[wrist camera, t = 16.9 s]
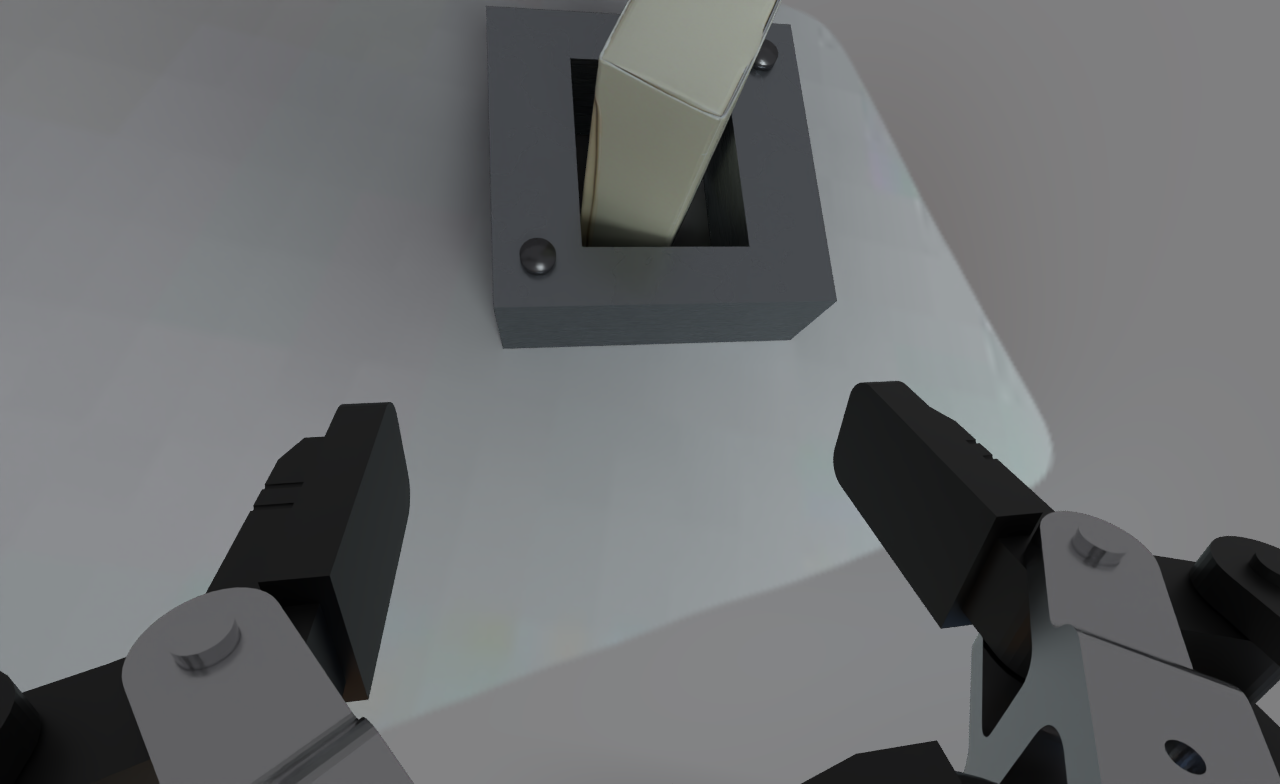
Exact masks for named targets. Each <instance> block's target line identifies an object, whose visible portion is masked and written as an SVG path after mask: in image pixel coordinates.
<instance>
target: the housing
mask: <svg viewBox="0 0 1280 784" xmlns="http://www.w3.org/2000/svg"><path fill="white" fill-rule="evenodd" d="M620 15H621V14H608V13H592V12H575V11H559V10H543V9H526V8H510V7H493V6H486V16H487V58H488V99H489V141H490V183H491V224H492V266H493V307H494V312H495V316H496V320H497V324H498V328H499V333H500V337H501V341H502V345H503V349H504V348H537V347H570V346H603V345H637V344H670V343H703V342H736V341H770V340H791V339H792V338H793V337H794V336H796V335H797V334H798V333H799V332H800V331H802V330H803V329H804V328H805V327H806V326H808V325H809V324H810V323H811V322H812V321H813V320H815V319H816V318H817V317H818V316H819V315H821V314H822V313H823V312H824V311H825V310H827V309H828V308H829V307H830V306H831V305H833V304H834V303H835V302H836V301H837V298H836V292H835V286H834V280H833V275H832V269H831V263H830V257H829V251H828V245H827V239H826V233H825V227H824V221H823V215H822V209H821V203H820V197H819V191H818V185H817V179H816V173H815V168H814V162H813V156H812V150H811V144H810V138H809V132H808V126H807V120H806V114H805V108H804V102H803V96H802V90H801V84H800V78H799V72H798V67H797V61H796V55H795V49H794V43H793V37H792V31H791V25H789V24H773V23H771V26H770V28H769V30H768V32H767V35H766V37H765V39H764V41H763V44H762V46H761V48H760V50H759V53H758V55H757V57H756V59H755V62H754V64H753V66H752V69H751V71H750V73H749V75H748V78H747V80H746V82H745V84H744V86H743V89H742V91H741V93H740V95H739V98H738V100H737V102H736V104H735V106H734V109H733V111H732V113H731V115H730V118H729V120H728V122H727V124H726V127H725V129H724V131H723V133H722V136H721V138H720V140H719V142H718V144H717V147H716V149H715V151H714V153H713V155H712V157H711V159H710V162H709V164H708V166H707V169H706V171H705V173H704V175H703V179H704V187H705V196H706V204H707V213H708V221H709V230H710V238H711V247H582V239H581V223H580V207H579V191H578V176H577V160H576V144H575V134H584V135H590V130H591V121H592V113H593V105H594V97H595V86H596V79H597V71H598V62H599V56H600V54H601V52H602V50H603V48H604V46H605V44H606V41H607V39H608V38H609V36H610V34H611V32H612V30H613V29H614V27H615V25H616V23H617V21H618V19H619V17H620Z"/></svg>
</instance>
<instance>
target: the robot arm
mask: <svg viewBox="0 0 1280 784" xmlns="http://www.w3.org/2000/svg"><path fill="white" fill-rule="evenodd" d="M833 463H834V470H835V474H836V477H837V480H838V482H839V484H840V485H841V487H842V488H843V490H844V491H845V492H846V494H847V495H848V497H849V498H850V500H851V501H852V502H853V504H854V505H855V507H856V508H857V510H858V511H859V512H860V514H861V515H862V517H863V518H864V520H865V521H866V522H867V524H868V525H869V527H870V528H871V530H872V531H873V532H874V534H875V535H876V537H877V538H878V540H879V541H880V542H881V544H882V545H883V547H884V548H885V550H886V551H887V552H888V554H889V555H890V557H891V558H892V560H893V561H894V562H895V564H896V565H897V566H898V568H899V570H900V571H901V572H902V574H903V575H904V577H905V578H906V580H907V581H908V582H909V584H910V585H911V587H912V588H913V590H914V591H915V592H916V594H917V595H918V597H919V598H920V600H921V601H922V602H923V604H924V605H925V607H926V608H927V610H928V611H929V612H930V614H931V615H932V617H933V618H934V620H935V621H936V622H937V624H938V625H939V627H940V628H941V629H942V628H950V627H957V626H965V625H974V627H975V628H976V629H977V631H978V632H979V634H978V636H977V638H976V639H975V641H974V643H973V646H972V654H971V688H970V689H971V690H970V721H969V723H970V724H969V749H968V757H967V761H966V766H965V769H964V772H963V773H962V772H957V771H954V769H953V767H952V765H951V764H950V762H949V761H948V759H947V757H946V755H945V754H944V752H943V750H942V748H941V747H940V745H939V743H938V742H937V741H931V742H925V743H919V744H913V745H907V746H901V747H895V748H889V749H883V750H877V751H871V752H865V753H859V754H855V755H853V756H851V757H850V758H848V759H846V760H844V761H842V762H840V763H839V764H837V765H835V766H833V767H831V768H830V769H827V770H826V771H824V772H822V773H820V774H818V775H816V776H815V777H813V778H811V779H809V780H807V781H805V782H804V783H802V784H1280V727H1279V726H1278V725H1277V724H1276V723H1275V722H1274V721H1273V720H1272V719H1271V718H1270V717H1269V716H1268V715H1267V714H1266V713H1265V712H1264V711H1263V710H1262V709H1260V708H1259V707H1258V706H1257V705H1256V704H1255V703H1256V702H1257V701H1258V700H1259V699H1261V698H1262V697H1263V695H1265V694H1266V693H1267V692H1268V691H1269V689H1271V688H1272V687H1273V686H1274V685H1275V684H1276V683H1277V682H1278V681H1279V680H1280V549H1279V548H1276V547H1274V546H1271V545H1269V544H1266V543H1263V542H1260V541H1256V540H1253V539H1248V538H1243V537H1236V536H1224V537H1219V538H1216V539H1215V540H1213V541H1212V542H1211V544H1210V545H1209V546H1208V547H1207V549H1206V550H1205V551H1204V553H1203V554H1202V555H1201V556H1200V558H1199V559H1198V560H1197V562H1192V561H1186V560H1180V559H1173V558H1166V557H1160V556H1154V555H1152V553H1151V552H1150V551H1149V550H1148V549H1147V548H1146V547H1145V546H1144V545H1143V544H1142V543H1141V542H1139V541H1138V540H1137V539H1136V538H1134V537H1133V536H1132V535H1130V534H1129V533H1127V532H1125V531H1124V530H1122V529H1120V528H1119V527H1117V526H1115V525H1113V524H1111V523H1108V522H1106V521H1104V520H1102V519H1099V518H1096V517H1093V516H1090V515H1086V514H1083V513H1077V512H1070V511H1058V512H1055V511H1054V510H1052V509H1051V508H1050V507H1049V506H1048V505H1047V504H1046V503H1045V502H1044V501H1043V500H1042V499H1040V498H1039V497H1038V496H1037V495H1036V494H1035V493H1034V492H1033V491H1032V490H1031V489H1030V488H1028V487H1027V486H1026V485H1025V484H1024V483H1023V482H1022V481H1021V480H1020V479H1019V478H1017V477H1016V476H1015V475H1014V474H1013V473H1012V472H1011V471H1010V470H1009V469H1008V468H1006V467H1005V466H1004V465H1003V464H1002V463H1001V462H1000V461H999V460H998V459H993V458H992V454H991V453H990V452H989V451H988V450H987V449H986V448H984V447H983V446H982V445H981V444H980V443H978V444H976V439H975V438H973V437H972V436H971V435H970V434H969V433H968V432H967V431H966V430H965V429H964V428H962V427H961V426H960V425H959V424H958V423H957V422H956V421H954V420H952V419H951V418H949V417H947V416H945V415H943V414H942V413H940V412H938V411H936V410H934V409H933V408H931V407H929V406H928V405H927V404H926V403H925V402H924V401H923V400H922V399H921V398H920V397H919V396H917V395H916V394H915V393H914V392H913V391H912V390H911V389H910V388H909V387H908V386H907V385H906V384H904V383H903V382H900V381H887V382H864V383H859V384H857V385H856V386H855V387H854V388H853V389H852V391H851V394H850V397H849V400H848V404H847V407H846V411H845V414H844V418H843V421H842V425H841V428H840V432H839V435H838V439H837V442H836V446H835V450H834V456H833ZM253 506H254V510H253V511H250V513H249V515H248V516H247V518H246V520H245V522H244V524H243V526H242V528H241V529H240V531H239V533H238V535H237V537H236V539H235V540H234V542H233V544H232V546H231V548H230V550H229V551H228V553H227V555H226V557H225V559H224V561H223V563H222V564H221V566H220V568H219V570H218V572H217V574H216V575H215V577H214V579H213V581H212V583H211V585H210V586H209V588H208V590H207V592H206V594H204V595H201V596H198V597H196V598H194V599H191V600H189V601H187V602H185V603H183V604H181V605H179V606H177V607H176V608H174V609H172V610H171V611H169V612H168V613H166V614H165V615H163V616H162V617H160V618H159V619H158V620H157V621H156V622H154V623H153V624H152V625H151V626H150V627H149V628H148V629H147V630H146V631H145V632H144V633H143V634H142V635H141V636H140V637H139V638H138V640H137V641H136V642H135V643H134V645H133V646H132V648H131V649H130V651H129V653H128V655H127V656H126V657H125V658H122V659H120V660H117V661H114V662H112V663H109V664H106V665H103V666H100V667H97V668H94V669H91V670H88V671H85V672H82V673H79V674H77V675H74V676H71V677H68V678H65V679H62V680H59V681H56V682H53V683H50V684H47V685H44V686H41V687H38V688H35V689H32V690H29V691H26V692H23V693H22V692H21V691H20V690H19V689H18V687H17V686H16V685H15V684H14V683H13V681H12V680H11V679H10V678H9V677H8V676H7V675H6V674H4V673H2V672H1V671H0V784H414V783H413V781H412V780H411V779H410V777H409V776H408V774H407V773H406V772H405V770H404V769H403V767H402V765H401V764H400V763H399V761H398V760H397V758H396V757H395V755H394V754H393V752H391V750H390V748H389V747H388V746H387V744H386V742H385V741H384V740H383V738H382V737H381V735H380V734H379V732H378V731H377V730H376V729H375V727H374V726H373V725H372V724H371V723H370V722H369V721H368V720H367V719H366V718H364V717H362V718H361V719H359V720H358V719H357V718H356V716H355V715H354V714H353V713H352V711H351V710H350V708H349V707H348V705H347V704H346V702H352V701H360V700H368V699H369V694H370V690H371V685H372V681H373V676H374V671H375V667H376V662H377V658H378V653H379V649H380V644H381V639H382V635H383V630H384V626H385V621H386V616H387V612H388V607H389V603H390V598H391V593H392V589H393V584H394V580H395V575H396V570H397V566H398V561H399V557H400V552H401V547H402V543H403V538H404V534H405V529H406V525H407V520H408V515H409V507H410V485H409V477H408V471H407V466H406V461H405V455H404V450H403V445H402V439H401V434H400V429H399V423H398V418H397V413H396V410H395V407H394V405H393V403H391V402H383V403H360V404H342V405H340V406H339V407H338V409H337V411H336V413H335V415H334V418H333V420H332V422H331V424H330V426H329V428H328V431H327V433H326V435H325V437H310V438H304V439H303V440H301V441H300V442H299V443H298V444H296V445H295V446H294V447H293V448H292V449H290V450H289V451H288V452H287V453H286V454H284V455H283V456H282V457H281V458H280V459H278V461H277V463H276V465H275V467H274V469H273V470H272V472H271V474H270V476H269V478H268V480H267V481H266V483H265V489H262V491H261V492H260V494H259V496H258V498H257V500H256V502H255V504H254V505H253Z"/></svg>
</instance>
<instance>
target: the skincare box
mask: <svg viewBox="0 0 1280 784" xmlns="http://www.w3.org/2000/svg"><path fill="white" fill-rule="evenodd" d="M780 3H781V0H628V2H627V4H626V6H625V8H624V10H623V12H622V13H621V15H620V17H619V19H618V21H617V23H616V25H615V27H614V29H613V30H612V32H611V34H610V36H609V38H608V39H607V41H606V44H605V46H604V48H603V50H602V52H601V54H600V56H599V62H598V71H597V79H596V86H595V97H594V105H593V113H592V121H591V130H590V139H589V147H588V155H587V164H586V172H585V180H584V189H583V197H582V207H581V216H580V223H581V239H582V246H583V247H671V245H672V243H673V241H674V239H675V237H676V234H677V232H678V230H679V228H680V226H681V224H682V222H683V220H684V218H685V216H686V213H687V211H688V209H689V207H690V205H691V202H692V200H693V198H694V196H695V193H696V191H697V189H698V187H699V184H700V182H701V180H702V178H703V175H704V173H705V171H706V169H707V166H708V164H709V162H710V159H711V157H712V155H713V153H714V151H715V149H716V147H717V144H718V142H719V140H720V138H721V136H722V133H723V131H724V129H725V127H726V124H727V122H728V120H729V118H730V115H731V113H732V111H733V109H734V106H735V104H736V102H737V100H738V98H739V95H740V93H741V91H742V89H743V86H744V84H745V82H746V80H747V78H748V75H749V73H750V71H751V69H752V66H753V64H754V62H755V59H756V57H757V55H758V53H759V50H760V48H761V46H762V44H763V41H764V39H765V37H766V35H767V32H768V30H769V28H770V26H771V23H772V21H773V19H774V17H775V14H776V12H777V10H778V7H779V5H780Z"/></svg>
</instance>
